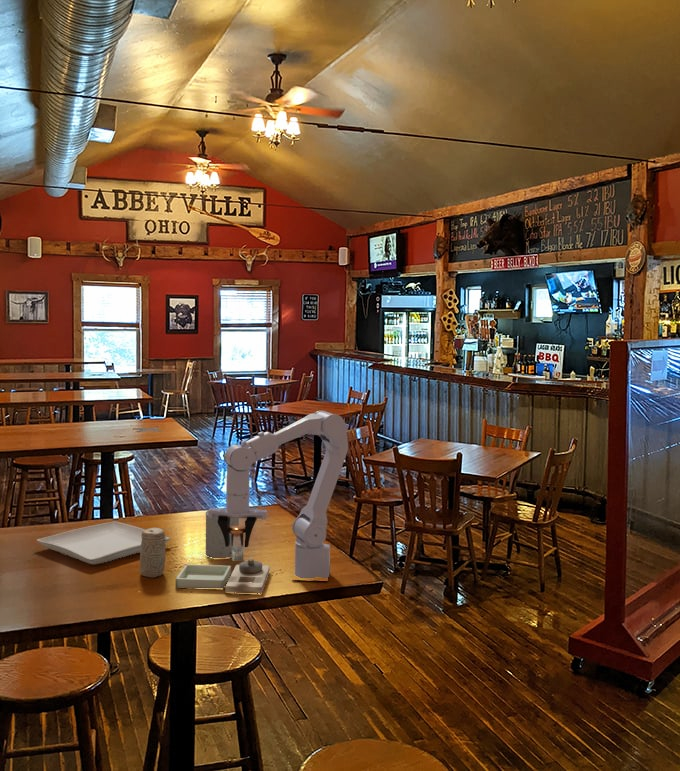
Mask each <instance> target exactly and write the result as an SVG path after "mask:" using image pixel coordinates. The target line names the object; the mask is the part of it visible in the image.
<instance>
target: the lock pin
mask: <svg viewBox="0 0 680 771" xmlns="http://www.w3.org/2000/svg"><path fill="white" fill-rule="evenodd" d="M229 533H231V546H232V559H231V561H233V562H240V561H242V562H243V561H244V533H245V525H244V526H242V525H239V526H232V527H230V528H229Z"/></svg>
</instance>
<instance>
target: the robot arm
mask: <svg viewBox="0 0 680 771" xmlns="http://www.w3.org/2000/svg"><path fill="white" fill-rule="evenodd" d="M348 428H349V427H348V425H347V423H346V421H345V420H344V418H343V417H342V416H341V415H339V414H335V413H331V412H328V411H326V410H317V411H315V412H314V413H310V414H307V415H306V416H304V417H303V418H301V419H299V420H297V421H295V422H293V423H291V424H289V425H287V426H286V427H284V428H281V429H280V430H277V431H275V432H274V433H272V432H269V431H265V432H264V431H260V432H258V433H257V436H254V437H251V438H250V439H248V440H242V441H240V444H233V445H230V446H229V447H228V448H227V450H225V453H224V455H223V460H224V462H225V463H226V483H225V484H226V485H225V486H226V488H225V489H226V493H225V495H226V498H225V499H226V500H225V501H226V502H225V507H220V508H219V507H216V508H215V507H214V508H212V507H210V508H209V509H208V510H207V511H208V518H213V517H218V521H217V522H218V525H219V527H220V529H221V531H222V533H223V536H224V540H225V546H226V547H228V546H229V544H230V533H229V528H230V518H239V519H245V521H244V527H245V534H244V548H248V547H249V545H250V538H251V535H252V532H253V529H254V527H255V524H256V522H257V520H258V519H261V520H267V518H268V517H267V516H268V511H267V510H268V509H258V508H250V468H251V467H252V465H253V464H254V463H256V462H257V461H260V460H262V459H265V458H267V457H268V456H270V455H273V454H275V453H277V451H278V449H279V446H281V445H283V444H286V443H288V442H290V441H293V440H295V439H298V438H300V437H303V436H304V435H307V434H308V435H313V436H318V437H320V439H321V440H322V442H323V445H324V446H325V448H326V450H325V454H324V456H323V459H322V461H321V465H320V467H319V471H318V473H317V476H316V479H315V480H314V481H315V482H314V485H313V487H312V489H311V492H310V495H309V498H308V501H307V504H306V505H305V506H304V507H303V508H302V509H301V510H300V512H299V514H298V516H297V517H296V518H295V519H294V521H292V522H293V523H292V526H291V527H292V528H291V529H292V532H293V534H294V536H296V538H295V541H294V543H295V544H294V547H295V548H294V555H295V556H294V570H295V575H296V576H298V577H300V578H315V577H322V578H327V577H329V578H330V573H331V570H332V569H331V568H332V566H331V565H330V562H331V561H330V560H331V559H330V558H331V544H327V543H324V542H325V540H326V539H327V526H328V521H329V520H328V516H327V511H328V508H329V505H330V502H331V499H332V496H333V493H334V491H335V488H336V486H337V482H338V479H339V477H340V473H341V472H342V468H343V467H344V466H343V464H344V462H345V460H346V457H347V454H348V450H349V442H348V435H347V434H348V433H347V432H348ZM329 572H330V573H329Z"/></svg>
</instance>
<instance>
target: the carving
mask: <svg viewBox="0 0 680 771" xmlns="http://www.w3.org/2000/svg"><path fill="white" fill-rule="evenodd" d="M141 537H142V542H141V551H140V553H139V554H140V555H139V571H140V572H139V573H140V574H141V575H142V576H144V577H146V578H150V579H151V578H152V579H153V578H158V577H161V576H162V575H163V573H164V570H165V565H166V543H165V541H166V537H167V536H166V533H165V531H164V529H163V528H160V527H149V528H147V529H145V530H144V531H143V532H142V535H141ZM157 576H158V577H157Z"/></svg>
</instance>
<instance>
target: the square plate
mask: <svg viewBox="0 0 680 771" xmlns="http://www.w3.org/2000/svg"><path fill="white" fill-rule="evenodd" d="M144 530H146V529H144V528H141V527H138V526H135V525H131V524H127V523H123V522H120V521H116V520H115V521H114V520H113V521H109V522H103V523H99V524H98V523H97V524H93V525H89V526H84V527H79V528H76V529H71V530H69V531H64V532H59V533H57V534H52V535H49V536H45V537H41V538H37V539H36V541H37V542H38V543H39V544H40V545H42V546H43V547H45V548H47V549H49V550H53V551H55V552H57V553H59V552H60V554H61V555H65V556H67V555H68V556H67V557H71V558H72V559H73V558H74V559H76V560H78V559H79V561H81V562H84V563H87V564H89V565H99V564H104V562H105V563H108V561H109V562H113V561H115V559H116V560H119V559H118V558H120V559H123V558H126V556H127V557H129V555H130V556H132V554H133V555H136V553H137V554H140V551H141V542H142V537H141V535H142V532H143V531H144ZM165 537H166V541H165V544H166V543H168V542H169V541H170V540H171V538H170V537H168V536H165ZM122 557H123V558H122ZM112 560H113V561H112Z"/></svg>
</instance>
